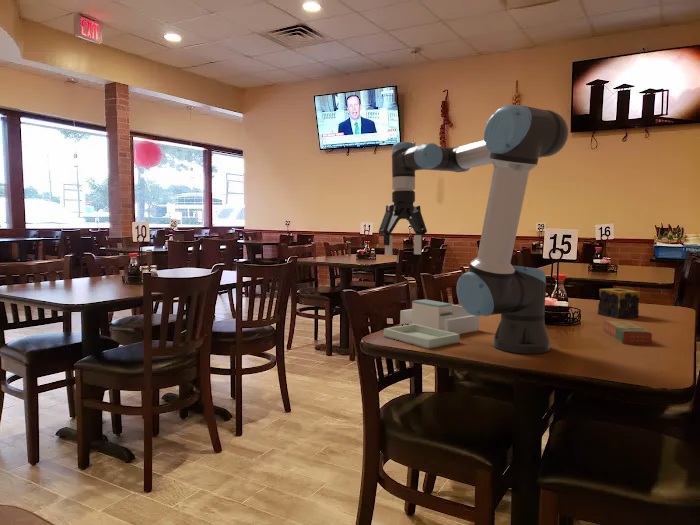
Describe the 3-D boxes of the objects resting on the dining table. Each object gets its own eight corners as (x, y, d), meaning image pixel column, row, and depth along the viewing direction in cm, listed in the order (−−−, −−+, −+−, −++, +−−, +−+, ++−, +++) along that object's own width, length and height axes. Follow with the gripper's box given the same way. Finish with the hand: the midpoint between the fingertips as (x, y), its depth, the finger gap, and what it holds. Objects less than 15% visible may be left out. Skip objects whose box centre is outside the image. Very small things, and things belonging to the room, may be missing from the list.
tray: (459, 342, 153) (459, 334, 153) (428, 348, 146) (428, 340, 145) (413, 331, 168) (413, 323, 168) (383, 336, 161) (383, 328, 160)
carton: (629, 334, 168) (630, 321, 168) (652, 346, 152) (653, 331, 152) (602, 333, 169) (603, 320, 169) (622, 345, 153) (623, 330, 153)
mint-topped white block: (453, 331, 169) (454, 304, 168) (440, 334, 165) (441, 306, 164) (424, 325, 179) (424, 299, 178) (411, 327, 176) (412, 300, 175)
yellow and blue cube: (597, 314, 202) (598, 288, 202) (617, 313, 206) (619, 288, 205) (617, 319, 193) (619, 292, 192) (639, 317, 196) (640, 291, 195)
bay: (478, 330, 171) (479, 309, 170) (447, 336, 162) (447, 313, 161) (431, 320, 188) (431, 300, 187) (400, 324, 179) (400, 304, 178)
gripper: (421, 192, 183) (420, 253, 184) (367, 189, 167) (367, 255, 168) (437, 191, 177) (437, 254, 178) (383, 188, 161) (383, 256, 162)
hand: (403, 255), depth 173 cm, fingers open, 13 cm apart
